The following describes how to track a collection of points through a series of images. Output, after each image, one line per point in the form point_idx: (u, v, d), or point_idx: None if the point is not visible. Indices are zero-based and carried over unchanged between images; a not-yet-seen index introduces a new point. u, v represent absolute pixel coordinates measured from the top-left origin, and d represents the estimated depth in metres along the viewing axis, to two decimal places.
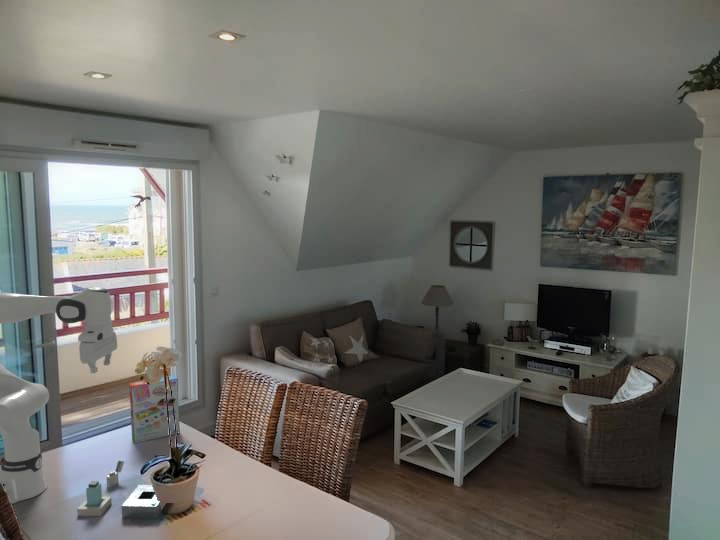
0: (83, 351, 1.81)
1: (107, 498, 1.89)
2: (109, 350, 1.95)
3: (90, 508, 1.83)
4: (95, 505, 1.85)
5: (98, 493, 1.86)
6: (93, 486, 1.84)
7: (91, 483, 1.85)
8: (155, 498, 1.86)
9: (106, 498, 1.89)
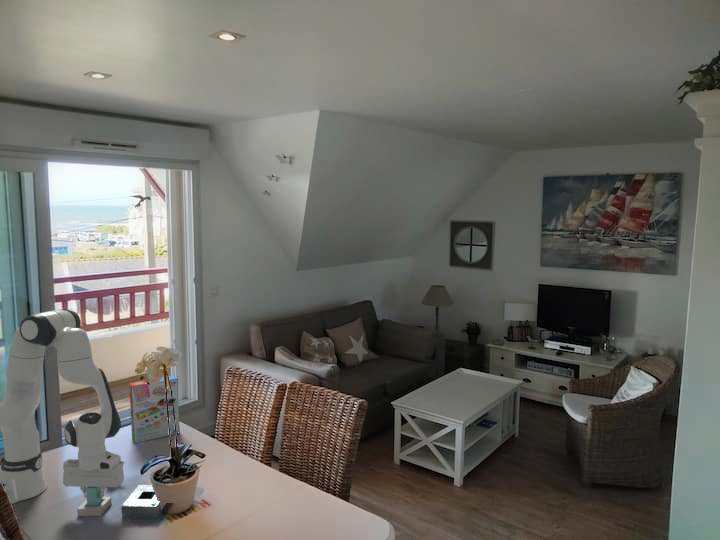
0: (119, 474, 1.84)
1: (107, 498, 1.89)
2: None
3: (90, 508, 1.83)
4: (95, 505, 1.85)
5: None
6: None
7: None
8: (155, 498, 1.86)
9: (106, 498, 1.89)
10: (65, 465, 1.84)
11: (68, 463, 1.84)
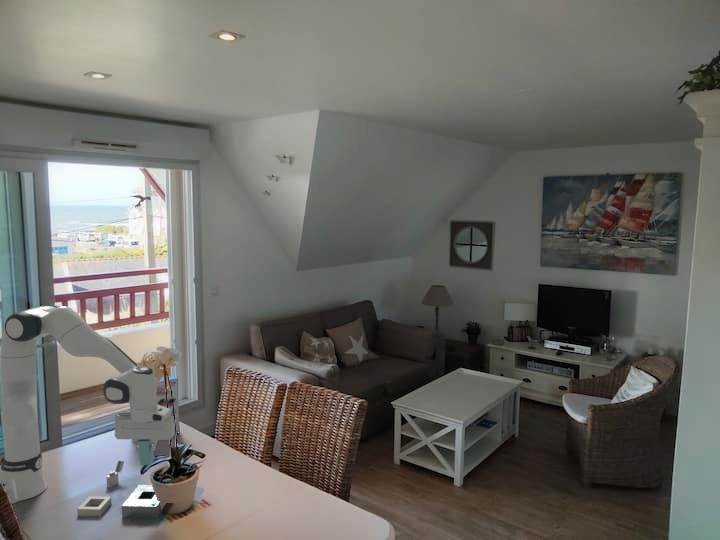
0: (171, 426, 1.84)
1: (107, 498, 1.89)
2: None
3: (90, 508, 1.83)
4: (148, 458, 1.85)
5: None
6: (144, 439, 1.84)
7: None
8: (155, 498, 1.86)
9: (106, 498, 1.89)
10: (117, 418, 1.84)
11: (120, 416, 1.84)
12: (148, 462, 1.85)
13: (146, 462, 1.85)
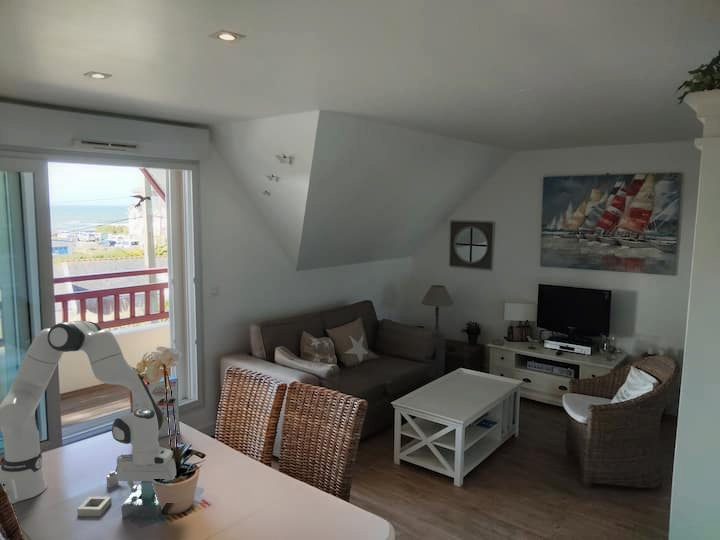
0: (172, 468, 1.86)
1: (107, 498, 1.89)
2: None
3: (90, 508, 1.83)
4: None
5: (152, 487, 1.88)
6: None
7: None
8: (155, 498, 1.86)
9: (106, 498, 1.89)
10: (119, 460, 1.86)
11: (122, 458, 1.86)
12: None
13: None
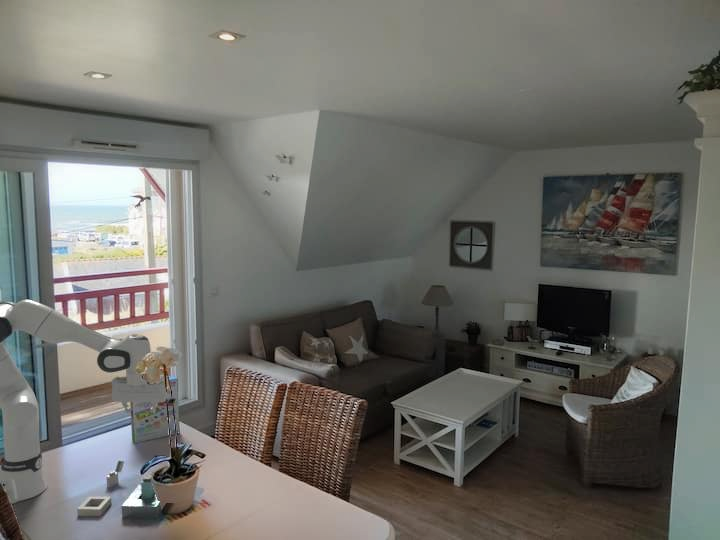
0: (164, 390, 1.98)
1: (107, 498, 1.89)
2: None
3: (90, 508, 1.83)
4: None
5: (152, 487, 1.88)
6: (148, 480, 1.87)
7: (145, 477, 1.87)
8: (155, 498, 1.86)
9: (106, 498, 1.89)
10: (114, 382, 1.98)
11: (116, 380, 1.98)
12: None
13: None
